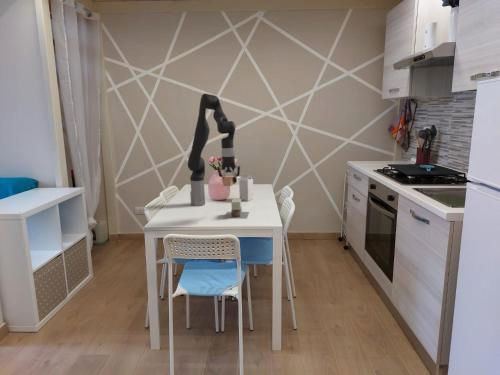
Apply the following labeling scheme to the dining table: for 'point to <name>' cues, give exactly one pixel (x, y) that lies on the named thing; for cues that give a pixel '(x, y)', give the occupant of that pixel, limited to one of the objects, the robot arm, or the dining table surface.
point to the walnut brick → (236, 213)
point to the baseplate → (243, 216)
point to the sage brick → (236, 204)
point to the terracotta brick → (228, 181)
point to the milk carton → (246, 187)
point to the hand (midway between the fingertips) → (229, 183)
